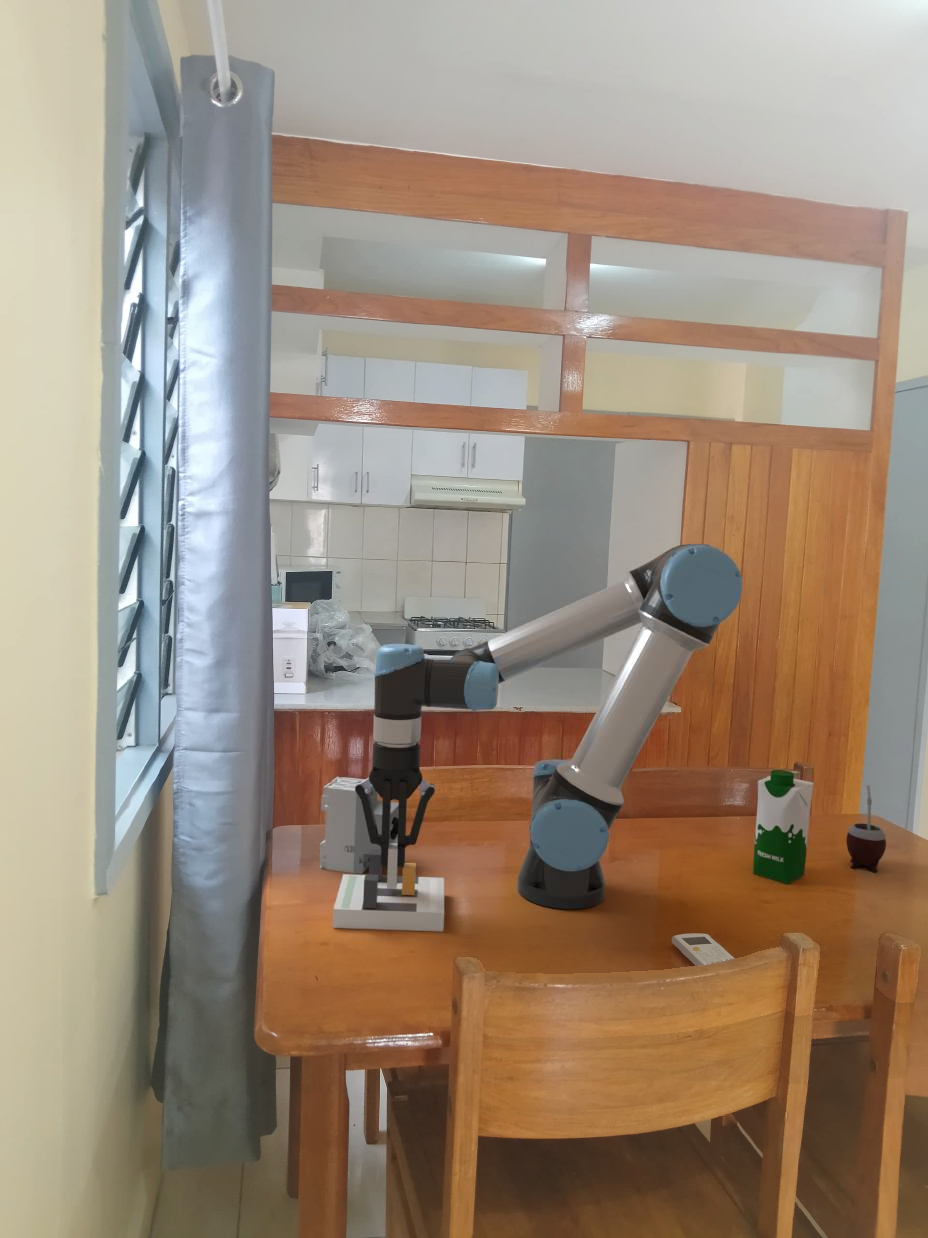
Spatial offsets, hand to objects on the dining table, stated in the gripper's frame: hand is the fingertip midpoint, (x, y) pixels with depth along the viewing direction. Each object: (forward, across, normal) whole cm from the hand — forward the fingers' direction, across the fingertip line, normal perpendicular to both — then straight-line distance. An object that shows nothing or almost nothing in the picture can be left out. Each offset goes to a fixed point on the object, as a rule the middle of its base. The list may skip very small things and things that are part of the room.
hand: (392, 885), depth 144 cm
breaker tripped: (+1, -3, 0) cm, 3 cm away
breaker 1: (+1, +3, -6) cm, 6 cm away
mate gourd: (+5, -91, -28) cm, 95 cm away
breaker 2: (+1, +3, +5) cm, 6 cm away
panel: (+4, 0, 0) cm, 4 cm away
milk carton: (+5, -72, -22) cm, 75 cm away
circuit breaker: (+4, +6, -19) cm, 21 cm away
